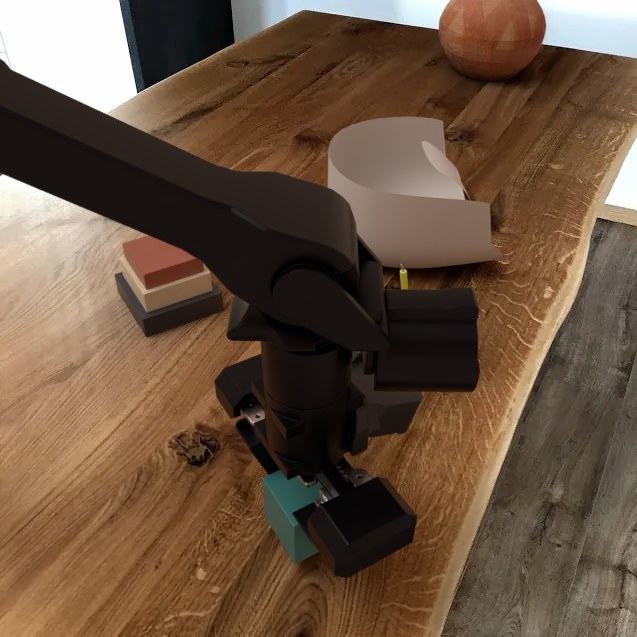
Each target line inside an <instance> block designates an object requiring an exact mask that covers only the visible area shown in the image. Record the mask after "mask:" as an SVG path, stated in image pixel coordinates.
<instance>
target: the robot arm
mask: <svg viewBox="0 0 637 637" xmlns="http://www.w3.org/2000/svg"><path fill="white" fill-rule="evenodd" d="M0 175H4V176H5V177H6V176H7V177H8V178H11V179H13V180H15V181H18V182H20V183H23V184H25V185H27V186H30V187H32V188H35V189H37V190H39V191H41V192H44V193H46V194H48V195H50V196H53V197H55V198H58V199H61V200H63V201H65V202H68V203H70V204H73V205H75V206H76V207H80V208H82V209H84V210H86V211H89V212H92V213H94V214H96V215H99V216H101V217H103V218H106V219H107V220H110V221H113V222H115V223H118V224H120V225H122V226H124V227H127V228H129V229H132V230H135V231H137V232H139V233H141V234H144V235H146V236H151V237H153V238H155V239H158V240H160V241H163V242H165V243H167V244H170V245H172V246H174V247H177V248H179V249H181V250H183V251H185V252H187V253H188V254H190V255H192V256H193V257H195V258H197V259H198V260H200V261H201V262H202V263H203V264H204V265H205V266H206V268H207V269H208V270H209V271H210V273H212V274H213V276H215V278H216V279H217V280H218V281H219V282H220V283H221V284H222V285H223V286H224V288H225V289H227V291H228V292H229V293H230V294H232V295H233V297H232V298H231V301H230V307H229V312H228V314H229V315H228V320H227V328H226V338H227V339H228V340H229V341H231V342H260V353H259V354H256V355H254V356H251V357H248V358H246V359H243V360H241V361H239V362H236V363H232V364H231V365H227V366H225V367H223V369H222V370H221V372H220V373H218V375H217V377H216V378H215V379H214V390H215V398H216V399H217V400H218V402H219V404H220V405H221V407H222V408H223V410H224V411H225V413H226V415H227V416H228V417H229V419H236V418H239V417H241V416H242V414H243V418H241V419H239V420H237V421H236V423H235V426H234V427H235V430H236V432H237V433H238V434H239V436H240V438H241V439H242V441H243V443H244V444H245V445H246V446H247V448H248V450H249V451H250V453H251V455H253V457H254V458H255V459H256V461H257V462H258V463H259V465H260V466H261V467H262V468H263V470H264V471H265V472H266V474H267V475H269V474H272V473H274V472H276V471H278V470H281V471H282V473H283V474H284V476H285V477H286V479H287V480H290V479H292V478H294V477H296V476H298V478H299V479H300V480H301V482H302V483H303V485H304V486H305V487H311V486H313V485H315V484H316V483H317V482H318V481H319V483H320V484H321V485H322V487H323V488H321V489H319V497H320V498H321V499H317V500H315V502H313V503H311V504H309V505H307V506H305V507H303V508H300V509H298V510H296V511H294V512H293V513H292V515H293V516H294V518H295V519H296V521H297V522H298V524H299V525H300V527H301V528H302V530H303V531H304V533H305V534H306V536H307V538H308V539H309V540H310V542H311V543H312V544H314V546H315V547H316V549H317V550H318V553H319V555H320V556H321V558H322V559H323V561H324V562H325V564H326V565H327V567H328V568H329V570H330V571H331V573H332V574H333V576H334V577H337V578H342V579H346V580H347V579H349V578H351V577H353V576H354V575H356V574H358V573H360V572H362V571H364V570H365V569H367V568H369V567H371V566H373V565H374V564H376V563H378V562H380V561H382V560H384V559H385V558H387V557H389V556H391V555H393V554H394V553H396V552H398V551H401V549H404V548H405V547H407V546H409V545H411V544H413V542H414V539H415V538H414V537H415V531H416V525H417V521H418V515H417V514H416V513H415V510H413V509H412V508H411V506H410V505H409V503H407V501H406V500H405V499H404V497H403V496H402V495H401V494H400V492H398V490H397V489H396V488H395V486H394V485H393V484H392V482H391V481H390V480H389V479H388V478H385V477H382V476H375V477H372V476H371V474H370V473H369V472H368V471H367V470H366V469H364V468H354V467H353V466H352V465H351V464H350V462H349V461H348V460H347V458H346V457H345V454H347V453H349V454H350V455H351V456H352V457H354V456H357V455H359V454H361V453H363V452H365V451H367V450H368V448H369V438H377V437H378V438H379V437H383V436H389V435H393V434H394V435H395V434H397V435H398V436H399V435H403V434H404V435H405V433H407V431H408V430H409V427H410V426H411V423H412V422H413V419H414V417H415V415H416V414H417V411H418V409H419V406H420V405H421V402H422V400H423V397H424V396H423V394H422V393H473V392H475V390H476V388H477V386H478V383H479V380H480V374H481V367H480V363H479V362H480V361H479V333H478V332H479V331H478V330H479V329H478V319H479V315H480V314H479V313H480V306H479V302H478V299H477V295H476V290H475V289H474V288H473V287H471V286H470V287H469V286H466V287H465V286H457V287H456V286H454V287H453V286H451V287H446V288H439V289H415V288H413V289H411V288H410V289H409V288H408V289H401V288H385V280H384V279H385V278H384V270H383V266H382V262H381V261H380V260H379V259H378V257H377V256H376V255H375V254H374V253H373V251H372V250H371V249H370V248H369V247H368V246H367V244H366V243H365V242H364V241H363V240H362V238H361V237H360V236H359V235H358V234H357V228H356V221H355V218H354V215H353V212H352V210H351V206H350V204H349V203H348V202H347V201H346V199H345V198H344V197H343V196H341V195H340V194H338V193H337V192H336V191H334V190H332V189H330V188H328V186H325V185H322V184H320V183H319V184H318V183H315V182H311V181H308V180H305V179H301V178H298V177H295V176H291V175H288V174H285V173H281V172H278V171H267V170H266V171H265V170H264V171H258V170H257V171H250V170H249V171H248V170H247V171H245V170H244V171H239V170H235V169H232V168H229V167H223V166H221V165H217V164H215V163H214V162H213V163H212V162H210V161H208V160H206V159H205V158H202V157H200V156H198V155H195V154H194V153H191V152H188V151H187V150H185V149H183V148H181V147H178V146H176V145H174V144H172V143H170V142H167V141H165V140H163V139H161V138H159V137H157V136H154V135H152V134H150V133H148V132H146V131H144V130H142V129H139V128H137V127H136V126H133V125H131V124H129V123H127V122H125V121H123V120H121V119H118V118H116V117H114V116H112V115H110V114H107V113H105V112H104V111H101V110H99V109H97V108H94V107H93V106H90V105H88V104H86V103H84V102H81V101H79V100H77V99H75V98H74V97H71V96H69V95H67V94H65V93H62V92H60V91H58V90H56V89H54V88H52V87H49V86H47V85H45V84H43V83H41V82H39V81H36V80H34V79H32V78H30V77H28V76H26V75H24V74H21V73H19V72H18V71H15V70H13V69H11V68H10V66H9V65H8V64H7V62H6V61H5V60H3V59H1V58H0ZM315 477H316V478H315Z"/></svg>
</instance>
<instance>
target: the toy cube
mask: <svg viewBox="0 0 637 637" xmlns="http://www.w3.org/2000/svg"><path fill="white" fill-rule="evenodd" d="M315 478H316V477H315ZM261 481H262V482H261V483H262V485H261V486H262V499H263V514H264V518H265V520H266V521H267V522H268V524H269V526H270V528H271V529H272V531H273V532H274V534H275V536H276V538H277V539H278V541H279V542H280V543H281V545H282V547H283V548H284V550H285V551H286V553H287V555H288V557H289V558H290V559H291V561H292V562H293V564H294V565H297V564H298V563H301V562H303V561H304V560H306V559H309V558H310V557H312V556H314V555H316V554H318V553H319V552H318V550H317V549H316V547H315V546H314V544H312V543H311V542H310V540H309V539H308V538H307V536H306V534H305V533H304V531H303V530H302V528H301V527H300V525H299V524H298V522H297V521H296V519H295V518H294V516H293V515H292V513H293V512H294V511H296V510H298V509H300V508H303V507H305V506H307V505H309V504H311V503H313V502H315V500H317V499H321V498H320V497H319V489H321V488H323V487H322V485H321V484H320V483H319V481H318V482H317V483H316V484H315V485H313V486H311V487H305V486H304V485H303V483H302V482H301V480H300V479H299V478H298V476H296V477H294V478H292V479H290V480H287V479H286V477H285V476H284V474H283V473H282V471H281V470H278V471H276V472H274V473H272V474H269V475H268V474H267V475H265V476H263V477H262V478H261Z"/></svg>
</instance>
